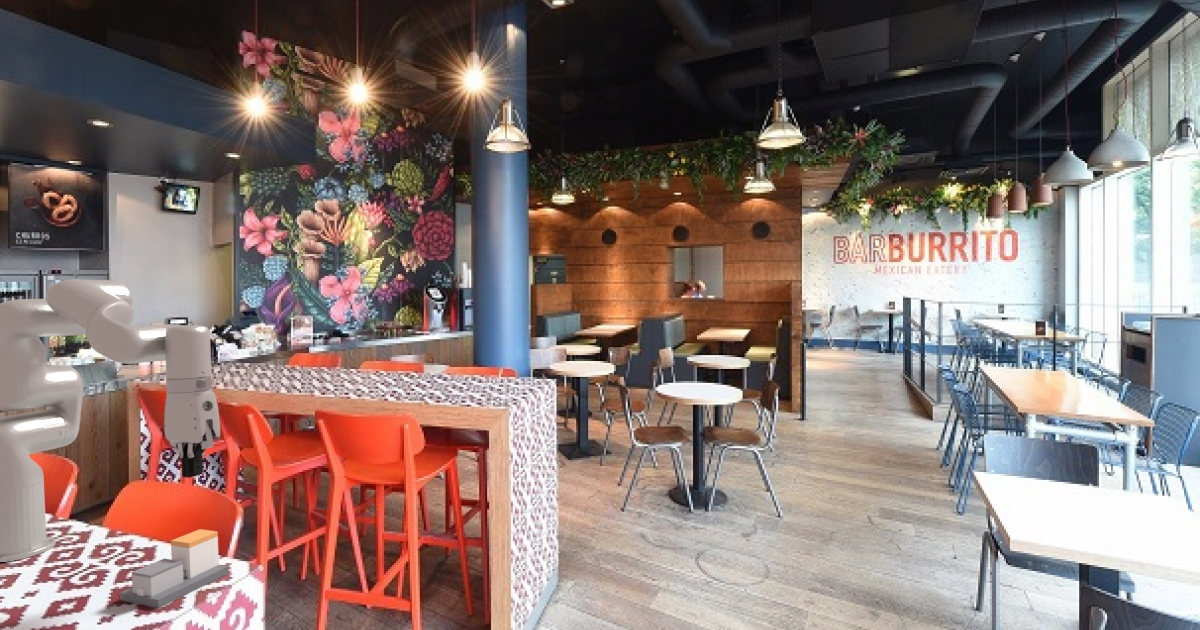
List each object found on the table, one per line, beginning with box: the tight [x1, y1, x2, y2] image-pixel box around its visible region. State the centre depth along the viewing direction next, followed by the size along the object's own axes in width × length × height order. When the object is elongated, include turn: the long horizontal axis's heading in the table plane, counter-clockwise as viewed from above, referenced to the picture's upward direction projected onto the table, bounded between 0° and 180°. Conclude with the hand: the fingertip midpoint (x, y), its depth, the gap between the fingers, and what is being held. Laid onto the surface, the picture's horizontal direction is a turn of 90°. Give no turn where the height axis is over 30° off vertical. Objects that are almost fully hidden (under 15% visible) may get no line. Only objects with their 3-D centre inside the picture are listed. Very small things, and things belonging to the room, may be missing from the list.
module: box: [170, 528, 220, 578], centre depth 118 cm, size 5×6×7 cm
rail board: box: [120, 558, 229, 609], centre depth 115 cm, size 10×14×6 cm
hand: (192, 475), depth 118 cm, fingers closed
